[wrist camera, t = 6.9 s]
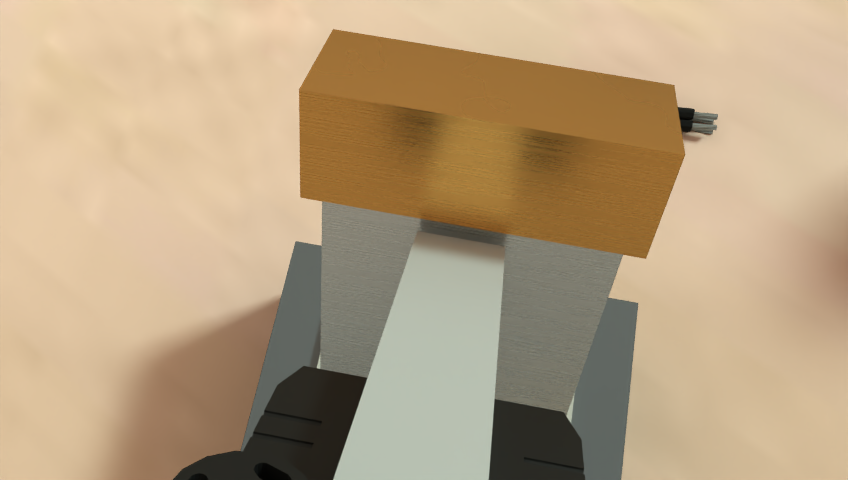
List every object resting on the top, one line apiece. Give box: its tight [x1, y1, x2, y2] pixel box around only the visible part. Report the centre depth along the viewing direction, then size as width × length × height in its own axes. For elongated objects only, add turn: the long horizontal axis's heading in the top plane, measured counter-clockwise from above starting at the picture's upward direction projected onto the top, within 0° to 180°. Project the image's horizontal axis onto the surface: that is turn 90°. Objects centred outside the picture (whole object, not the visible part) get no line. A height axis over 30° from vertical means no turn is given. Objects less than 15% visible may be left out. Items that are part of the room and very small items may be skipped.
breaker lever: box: [299, 29, 685, 416], centre depth 16 cm, size 2×6×12 cm, turn 78°
